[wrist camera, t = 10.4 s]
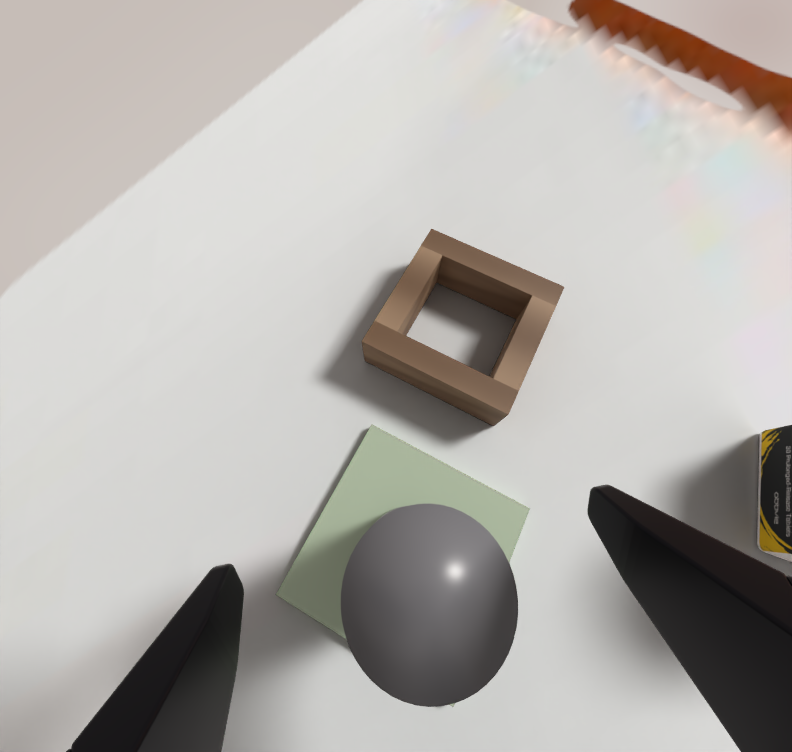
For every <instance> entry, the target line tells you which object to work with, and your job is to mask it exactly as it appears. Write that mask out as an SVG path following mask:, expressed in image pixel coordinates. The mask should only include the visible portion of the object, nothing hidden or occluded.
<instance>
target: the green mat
mask: <svg viewBox="0 0 792 752" xmlns="http://www.w3.org/2000/svg"><path fill="white" fill-rule="evenodd" d="M415 504H439V505H444V506H448V507H452V508H454V509H457V510H459V511H462V512H463V513H465V514H467V515H469V516H471V517H472V518H474V519H475V520H476V521H478V522H479V523H480V524H481V525H482V526H484V527H485V528H486V529H487V530H488V531H489V532H490V534H491V535H492V536H493V537H494V538H495V540H496V541H497V542H498V544H499V545H500V547H501V548H502V550H503V552H504V554H505V556H506V558H507V560H508V562H509V561H510V559H511V556H512V554H513V551H514V549H515V546H516V543H517V541H518V538H519V536H520V533H521V530H522V528H523V525H524V523H525V520H526V517H527V515H528V512H529V510H530V508H528V507H526V506H524V505H522V504H520V503H518V502H516V501H515V500H513V499H511V498H509V497H507V496H505V495H503V494H501V493H500V492H498V491H496V490H494V489H492V488H490V487H488V486H486V485H485V484H483V483H481V482H479V481H477V480H475V479H473V478H471V477H470V476H468V475H466V474H464V473H462V472H460V471H458V470H456V469H455V468H453V467H451V466H449V465H447V464H445V463H443V462H441V461H440V460H438V459H436V458H434V457H432V456H430V455H428V454H426V453H425V452H423V451H421V450H419V449H417V448H415V447H413V446H412V445H410V444H408V443H406V442H404V441H402V440H400V439H398V438H397V437H395V436H393V435H391V434H389V433H387V432H385V431H383V430H382V429H380V428H378V427H376V426H374V425H371V427H370V428H369V430H368V432H367V434H366V435H365V437H364V439H363V441H362V443H361V444H360V446H359V448H358V450H357V451H356V453H355V455H354V457H353V459H352V460H351V462H350V464H349V466H348V467H347V469H346V471H345V473H344V475H343V476H342V478H341V480H340V482H339V483H338V485H337V487H336V489H335V490H334V492H333V494H332V496H331V498H330V499H329V501H328V503H327V505H326V506H325V508H324V510H323V512H322V514H321V515H320V517H319V519H318V521H317V522H316V524H315V526H314V528H313V530H312V531H311V533H310V535H309V537H308V538H307V540H306V542H305V544H304V546H303V547H302V549H301V551H300V553H299V554H298V556H297V558H296V560H295V562H294V563H293V565H292V567H291V569H290V570H289V572H288V574H287V576H286V577H285V579H284V581H283V583H282V585H281V586H280V588H279V590H278V592H277V593H276V595H277V596H279V597H280V598H282V599H283V600H285V601H286V602H288V603H290V604H291V605H293V606H294V607H296V608H297V609H299V610H301V611H302V612H304V613H305V614H307V615H309V616H310V617H312V618H313V619H315V620H316V621H318V622H320V623H321V624H323V625H324V626H326V627H327V628H329V629H331V630H332V631H334V632H335V633H337V634H338V635H340V636H342V637H343V638H345V639H346V636H345V632H344V628H343V623H342V616H341V589H342V581H343V577H344V573H345V569H346V566H347V564H348V561H349V558H350V556H351V554H352V552H353V550H354V548H355V546H356V545H357V543H358V542H359V540H360V539H361V538H362V536H363V535H364V534H365V533H366V532H367V531H368V529H369V528H370V527H371V526H372V525H373V524H374V523H375V522H376V521H377V520H378V519H379V518H380V517H382V516H383V515H384V514H385V513H387V512H388V511H390V510H392V509H395V508H398V507H404V506H410V505H415ZM346 640H347V639H346ZM454 704H455V703H454ZM454 704H449V705H451V706H452V707H454Z"/></svg>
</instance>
